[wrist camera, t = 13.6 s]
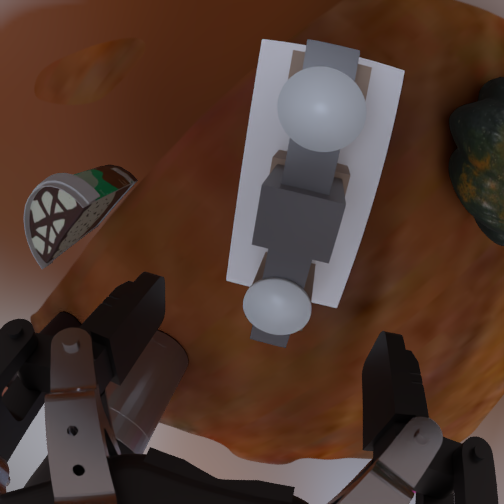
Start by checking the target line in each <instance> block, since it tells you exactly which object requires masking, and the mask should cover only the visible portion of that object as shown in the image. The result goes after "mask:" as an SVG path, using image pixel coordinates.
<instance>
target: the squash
mask: <svg viewBox="0 0 504 504" xmlns="http://www.w3.org/2000/svg"><path fill="white" fill-rule="evenodd" d="M449 125H450V130H451V133H452V136H453V139H454V141H455V143H456V145H457V147H458V148H457V149H456V150H455V151H454V152H453V153H452V155H451V157H450V160H449V175H450V178H451V181H452V185H453V187H454V190H455V192H456V194H457V196H458V198H459V199H460V201H461V203H462V204H463V206H464V207H465V208H466V210H467V211H468V212H469V213H470V214H471V215H473V216H474V218H475V220H476V223H477V224H478V226H479V228H480V229H481V230H482V231H483V232H484V234H485V235H486V236H487V237H488V238H489V239H491V240H492V241H493V242H495V243H496V244H499V245H501V246H504V77H499V78H496V79H492V80H490V81H489V82H487V83H486V84H484V85H483V87H482V88H481V90H480V92H479V97H478V101H477V102H474V103H470V104H466V105H463V106H461V107H459V108H457V109H456V110H455V111H454V112H453V113H452V114H451V116H450V118H449Z"/></svg>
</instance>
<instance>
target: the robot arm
mask: <svg viewBox="0 0 504 504" xmlns="http://www.w3.org/2000/svg"><path fill="white" fill-rule="evenodd" d="M164 315H165V280H164V277H162V276H158V275H155V274H151V273H148V272H143V273H142V274H141V275H140V276H139V277H138V278H137V279H136V280H135V281H134V282H131V281H127V282H126V283H124V284H122V285H120V286H118V287H116V288H115V289H114V291H113V292H112V293H111V294H110V295H109V297H107V298H106V299H105V300H104V301H103V303H101V304H100V305H99V306H98V307H97V308H96V310H95V311H94V312H93V313H92V314H91V315H90V316H89V317H88V318H87V319H86V320H85V321H84V323H83V324H82V325H81V326H80V327H79V328H67V329H64V330H61V331H60V332H58V333H57V334H56V335H55V336H51V335H45V334H39V333H35V331H34V328H33V326H32V324H31V323H30V322H29V321H27V320H25V319H15V320H12V321H9V322H8V323H6V324H5V325H4V326H3V327H2V328H1V329H0V504H308V503H307V502H306V501H304V500H302V499H300V498H298V497H296V496H294V495H293V493H294V488H295V487H291V486H285V485H280V484H274V483H269V482H264V481H259V480H222V479H217V478H215V477H213V476H211V475H209V474H208V473H206V472H204V471H202V470H200V469H199V468H197V467H195V466H194V465H192V464H190V463H189V462H187V461H185V460H184V459H181V458H178V457H175V456H172V455H169V454H167V453H164V452H161V451H159V450H156V449H154V448H151V447H150V449H149V451H148V453H147V455H146V454H143V452H144V450H145V448H146V446H147V444H148V442H149V440H150V438H151V436H152V434H153V432H154V430H155V428H156V426H157V424H158V423H159V421H160V419H161V417H162V415H163V413H164V411H165V409H166V407H167V405H168V403H169V401H170V399H171V397H172V395H173V393H174V391H175V390H176V388H177V386H178V384H179V382H180V380H181V378H182V376H183V374H184V372H185V370H186V368H187V366H188V357H187V355H186V353H185V351H184V349H183V348H182V347H181V346H180V345H179V344H178V343H177V342H176V341H175V340H174V339H173V338H171V337H170V336H168V335H166V334H165V333H162V332H160V331H157V330H158V328H159V327H160V325H161V323H162V321H163V318H164ZM16 373H17V375H18V376H17V377H16V378H15V380H14V381H13V382H12V384H11V385H10V386H9V388H8V389H7V390H6V392H5V393H4V394H3V396H2V393H3V390H4V389H5V387H6V386H7V385H8V383H9V382H10V381H11V379H12V378H13V377H14V375H15V374H16ZM362 390H363V450H366V451H373V459H372V460H371V461H370V462H369V463H368V464H367V465H366V466H365V467H364V468H363V469H362V470H361V471H360V472H359V474H358V475H357V476H356V477H355V478H354V479H353V480H352V481H351V482H350V483H349V484H348V485H347V486H346V487H345V488H344V489H343V490H342V491H341V492H340V493H339V494H338V495H337V496H335V497H334V498H333V499H332V500H331V501H330V502H328V504H409V503H410V501H411V500H412V498H413V496H414V492H413V491H415V492H416V504H498V494H497V484H496V475H495V467H494V460H493V453H492V450H491V447H490V446H489V444H488V443H487V442H486V441H485V440H484V439H482V438H480V437H470V438H468V439H467V440H466V441H465V442H464V443H462V444H461V443H458V442H456V441H453V440H450V439H447V438H445V437H443V435H442V431H441V429H440V427H439V426H438V425H437V424H436V423H435V422H434V421H433V420H431V419H429V416H428V410H427V404H426V398H425V393H424V388H423V385H422V377H421V375H420V368H419V363H418V361H417V359H416V358H415V356H414V355H413V353H412V352H411V351H409V350H406V349H405V345H404V340H403V336H402V335H400V334H395V333H390V332H385V331H382V332H381V333H380V334H379V336H378V338H377V340H376V342H375V344H374V346H373V348H372V349H371V351H370V353H369V355H368V357H367V359H366V361H365V363H364V366H363V371H362ZM44 403H45V424H46V438H47V449H48V455H47V456H46V458H45V459H44V460H43V462H42V463H41V465H40V466H39V467H38V469H37V470H36V471H35V472H34V474H33V475H32V476H31V478H30V479H29V481H28V482H27V483H26V485H25V486H24V488H22V489H18V490H15V491H11V492H7V493H6V486H8V485H9V483H10V477H9V467H8V464H7V462H8V460H9V458H10V457H11V455H12V453H13V452H14V450H15V448H16V446H17V445H18V443H19V442H20V440H21V439H22V437H23V435H24V434H25V432H26V430H27V429H28V427H29V426H30V424H31V422H32V421H33V419H34V418H35V416H36V415H37V413H38V411H39V410H40V409H41V407H42V406H43V404H44Z"/></svg>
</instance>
